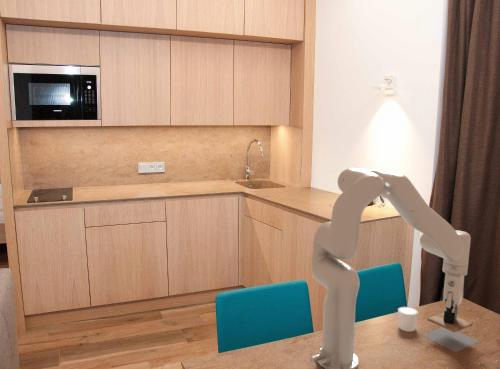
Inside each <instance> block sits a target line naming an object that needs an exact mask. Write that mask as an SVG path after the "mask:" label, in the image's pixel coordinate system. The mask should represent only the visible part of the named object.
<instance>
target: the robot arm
mask: <svg viewBox="0 0 500 369" xmlns="http://www.w3.org/2000/svg"><path fill="white" fill-rule="evenodd" d="M337 186H338V189H339V190H340V191H341V192H342V193H341V194H340V195H339V196H338V197H337V198H336V200H335V201H334V204H333V207H332V211H331V218H330V221H325V222H323V223H321V224H320V225H319V226H318V227H317V229H316V230H315V233H314V236H313V240H312V242H313V243H312V253H311V273H312V276H313V278H314V280H316V281H317V283H318V284H320V285H322V286H323V287H324V288H325V289H326V291H327V293H326V296H325V297H324V298H325V299H324V301H323V306H322V307H323V308H322V309H323V310H322V312H323V313H322V343H321V344H322V347H320V348H319V352H318V353H317V354H314V355H311V356H310V357H309V361H310V362H311V363H312V364H314V363H318V365H319V366H320V367H322V368H323V369H357V368H358V366H359V358H358V356H357V355H356V354H355V353H354V350H355V348H354V347H355V323H356V304H357V297H358V292H359V289H360V284H361V283H360V277H359V274H358V272H356V270H355V269H354V268H353V267H352V266H351V265H349V264H348V263H346V262H344V261H349V260H352V259H353V258H355V257H356V254H357V253H358V250H359V249H358V248H359V243H360V242H359V240H360V229H361V228H360V227H361V220H362V215H363V213H364V211H365V209H366V208H367V207H368V205H369V204H371V203H372V202H374V200H376V199H378V197H382V198H385V199H387V200H388V201H389V203H390V204H391V205H392V206H393V207H394V209H395V210H396V211H397V213H398V214H399V216H400V217H401V218H402V219H403V221H404V222H405V223H406V224H407V225H409V226H410V227H411V228H413V229H415V230H417V231H418V232H420V233H422V235H421V236H420V239H419V244H420V247H421V248H422V249H423V250H424V251H425V252H427V253H430V254H432V255H435V256H437V257H439V258H442V259H443V260H442V272H443V273H445V277H444V285H443V286H444V287H443V295H442V296H443V302H444V303H445V305H444V309H445V311H444V310H443V311H444V312H443V313H444V322H446V323H450V324H454V319H455V312H454V310H455V306H457V307H459V305H461V303H462V300H463V298H464V287H465V286H464V284H465V276H467V275H468V269H469V257H470V250H471V249H470V248H471V239H472V237H471V235H470V233H468V232H467V231H464V230H463V231H462V230H457V229H455V228H454V227H453V225H451V224H450V223H449V222H448V221H447V220H446V219H444V217H443V216H441V215H440V214H438V212H436V211H435V210H434V209H433V208H431V207H430V206H429V205H428V204H427V202H426V201H425V199H424V198H423V196H422V195H421V194H420V192H419V191H418V190H417V188H416V187H415V186H414V183H412V181H411V180H410V179H409V178H408V177H407V176H406V175H405V174H402V173H399V172H396V171H395V172H394V171H389V170H383V169H382V170H381V169H368V168H366V169H365V168H355V167H350V168H346V169H344V170H342V172H340V173H339V175H338V177H337ZM451 305H453V307H452V306H451Z"/></svg>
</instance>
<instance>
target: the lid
mask: <svg viewBox="0 0 500 369" xmlns="http://www.w3.org/2000/svg"><path fill="white" fill-rule="evenodd" d="M451 306H452V307H453V305H451ZM458 307H459V306H455V310H454V312H455V319H454V324H450V323H446V322H444V312H442V313H440V314H436V315H434V316H430V317H428V318H427V321H428V322H430V323H433V324H435V325H436V326H439V327H440V328H442V327H443V328H445V329H448V330H450V331H452V332H459V331H463V330H464V329H467V328H469V327H473V324H474V323H473V322H470V321H468V320H467V319H463V318H461V317H458V310H459V308H458ZM443 311H445V308H444V310H443Z"/></svg>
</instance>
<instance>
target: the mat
mask: <svg viewBox="0 0 500 369" xmlns="http://www.w3.org/2000/svg"><path fill="white" fill-rule="evenodd" d="M421 337H424V338H425V339H427V340H430V341H431V342H433V343H436V344H438V345H440V346H442V347H444V348H446V349H448V350H450V351H452V352H454V353H458V352H460V351H462V350H465V349H466V348H469V347H470V346H473V345H475V344H477V343H479V342H480V340H477V339H475V338H472V337H470V336H468V335H465V334H464V333H461V332H459V331H457V332H452V331H450V330H448V329H445V328H443V327H439V328H437V329H435V330H432V331H429V332H427V333H425V334H422V335H421Z"/></svg>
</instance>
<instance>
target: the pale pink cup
mask: <svg viewBox="0 0 500 369" xmlns="http://www.w3.org/2000/svg"><path fill="white" fill-rule="evenodd" d="M418 316H419V311H418V310H417V309H416V308H414V307H410V306H401V307H398V308H397V318H398V319H397V320H398V328H399V330H401V331H404V332H415V331H416V329H417V324H418Z"/></svg>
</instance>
